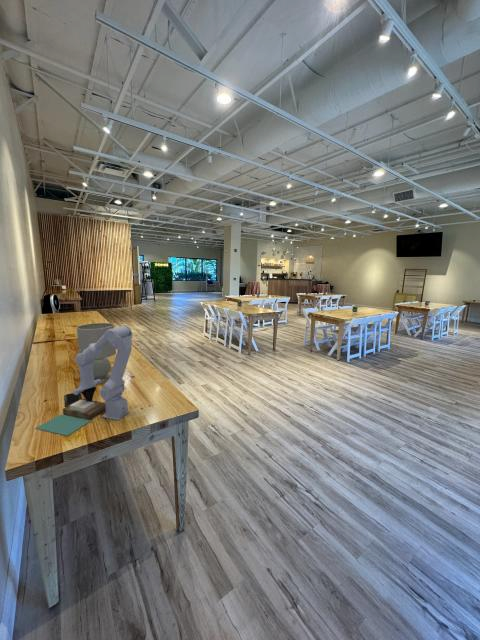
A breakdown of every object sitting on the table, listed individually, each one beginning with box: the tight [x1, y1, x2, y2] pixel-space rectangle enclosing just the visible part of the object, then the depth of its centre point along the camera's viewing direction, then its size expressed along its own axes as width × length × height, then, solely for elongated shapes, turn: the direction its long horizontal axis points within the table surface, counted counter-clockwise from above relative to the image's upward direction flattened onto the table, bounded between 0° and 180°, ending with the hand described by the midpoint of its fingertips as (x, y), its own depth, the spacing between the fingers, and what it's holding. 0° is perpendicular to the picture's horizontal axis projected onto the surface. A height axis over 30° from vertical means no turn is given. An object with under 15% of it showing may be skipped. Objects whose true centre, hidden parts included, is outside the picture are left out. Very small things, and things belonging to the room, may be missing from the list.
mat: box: [35, 414, 92, 437], centre depth 119 cm, size 18×12×1 cm, turn 74°
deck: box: [62, 398, 106, 421], centre depth 130 cm, size 16×11×3 cm
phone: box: [63, 392, 83, 408], centre depth 142 cm, size 8×1×15 cm
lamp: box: [76, 322, 117, 385], centre depth 165 cm, size 20×20×35 cm
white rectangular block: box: [70, 400, 95, 412], centre depth 128 cm, size 9×6×2 cm, turn 73°
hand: (89, 402), depth 132 cm, fingers closed
